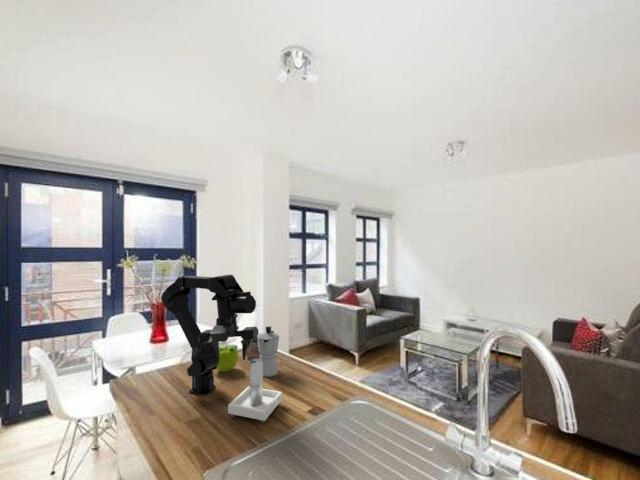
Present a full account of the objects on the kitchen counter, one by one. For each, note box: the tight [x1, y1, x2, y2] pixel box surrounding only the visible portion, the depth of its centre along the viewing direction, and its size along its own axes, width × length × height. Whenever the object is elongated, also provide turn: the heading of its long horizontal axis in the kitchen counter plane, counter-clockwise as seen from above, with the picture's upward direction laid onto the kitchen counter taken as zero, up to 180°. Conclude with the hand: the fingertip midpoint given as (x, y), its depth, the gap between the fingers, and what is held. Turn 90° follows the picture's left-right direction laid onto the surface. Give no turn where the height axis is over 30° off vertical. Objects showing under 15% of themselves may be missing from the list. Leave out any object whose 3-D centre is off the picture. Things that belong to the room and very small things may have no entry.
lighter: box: [245, 335, 260, 361], centre depth 138 cm, size 8×3×10 cm, turn 117°
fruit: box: [216, 345, 239, 373], centre depth 125 cm, size 9×9×10 cm
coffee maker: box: [257, 326, 280, 378], centre depth 125 cm, size 15×9×18 cm, turn 179°
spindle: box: [249, 359, 264, 407], centre depth 97 cm, size 4×4×13 cm
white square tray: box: [227, 385, 283, 424], centre depth 97 cm, size 12×12×4 cm
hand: (230, 360), depth 104 cm, fingers open, 9 cm apart
